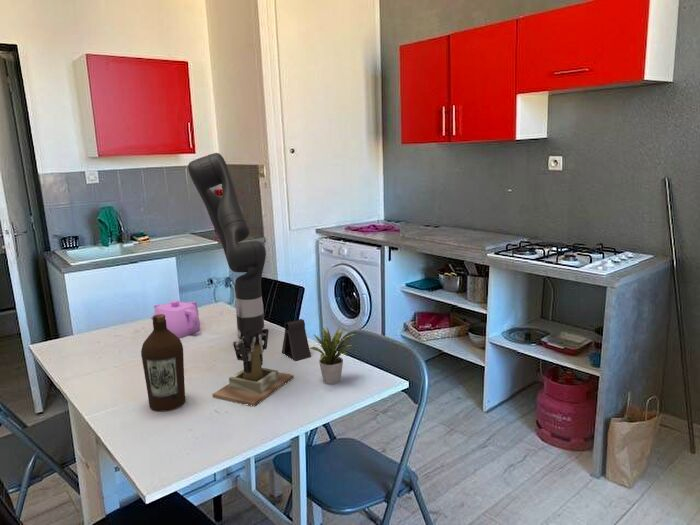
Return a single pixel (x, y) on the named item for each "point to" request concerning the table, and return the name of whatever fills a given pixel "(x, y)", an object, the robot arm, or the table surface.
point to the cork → (254, 365)
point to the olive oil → (163, 367)
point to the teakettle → (180, 317)
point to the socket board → (252, 387)
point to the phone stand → (295, 340)
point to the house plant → (331, 356)
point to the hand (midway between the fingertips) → (253, 368)
